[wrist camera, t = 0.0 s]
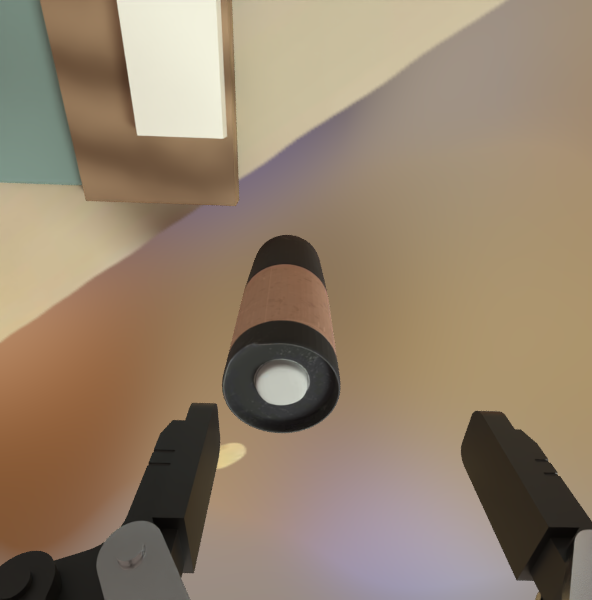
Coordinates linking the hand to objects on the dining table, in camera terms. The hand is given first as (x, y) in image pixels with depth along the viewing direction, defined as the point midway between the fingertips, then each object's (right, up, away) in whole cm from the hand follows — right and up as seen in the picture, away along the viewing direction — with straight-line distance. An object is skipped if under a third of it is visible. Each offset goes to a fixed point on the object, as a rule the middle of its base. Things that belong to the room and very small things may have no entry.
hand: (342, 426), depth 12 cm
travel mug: (-2, +8, +29) cm, 30 cm away
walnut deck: (-14, +24, +20) cm, 34 cm away
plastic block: (-11, +22, +17) cm, 30 cm away
